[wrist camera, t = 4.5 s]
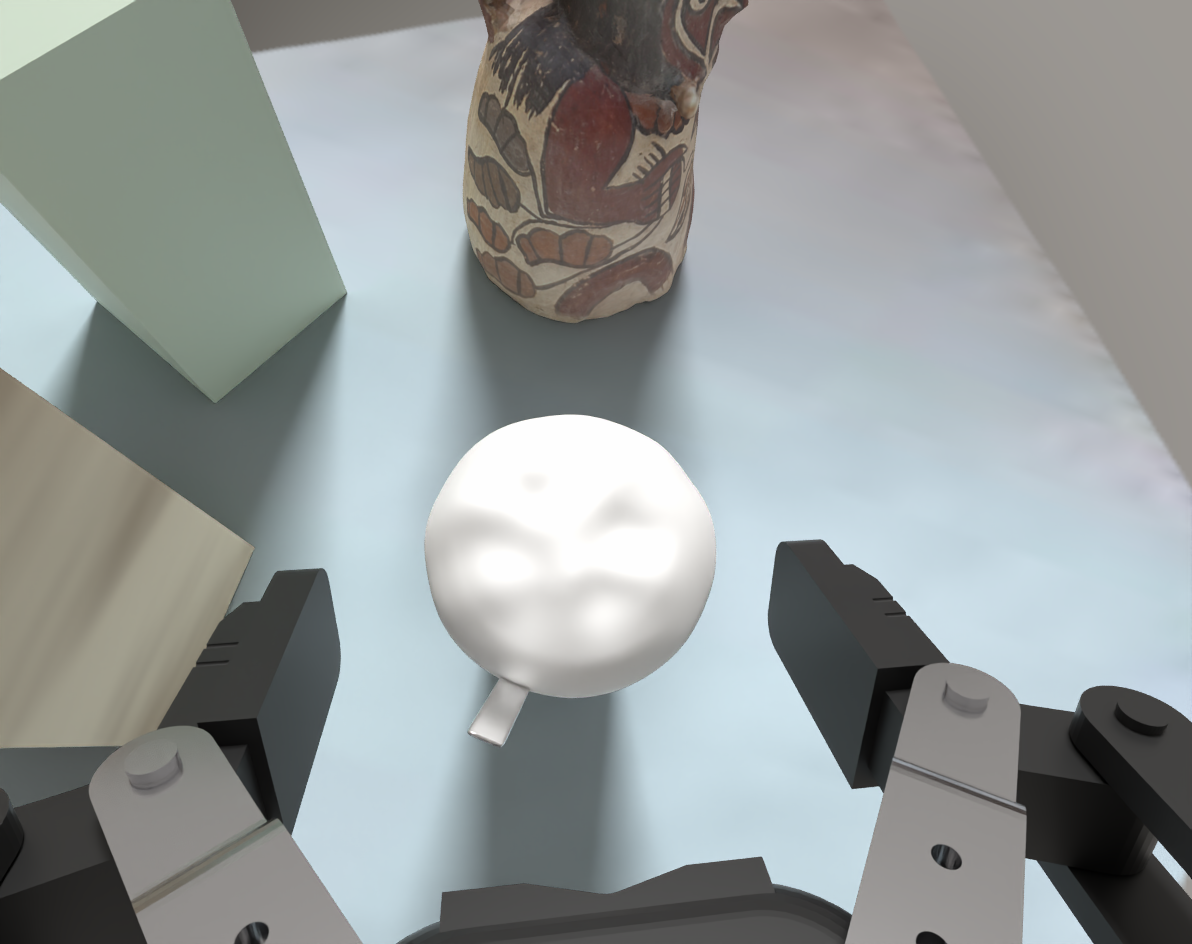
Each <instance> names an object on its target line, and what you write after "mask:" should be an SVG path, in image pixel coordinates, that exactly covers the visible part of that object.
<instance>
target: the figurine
mask: <svg viewBox="0 0 1192 944" xmlns="http://www.w3.org/2000/svg"><path fill="white" fill-rule="evenodd" d="M478 1H479V4H480V7H481V10H482V12H483V16H484V19H485V23H486V27H487V31H488V41H487V43H486V47H485V50H484V53H483V56H482V60H481V63H480V66H479V70H478V74H477V78H476V82H475V86H474V91H473V96H472V101H471V106H470V111H469V116H468V123H467V135H466V151H465V165H464V178H463V207H464V215H465V219H466V223H467V228H468V232H469V237H470V241H471V244H472V248H473V251H474V253H475V254H476V256H477V258H478V260H479V261H480V263H481V265H482V267H483V269H484V271H485V273H486V275H487V276H488V278H489V280H491V281H492V282H493V283H494V284H495V285H497V286H498V287H499V288H500V289H501V290H503V291H504V292H505V293H506V294H507V295H508V296H510V297H511V298H512V299H514V300H515V301H516V302H518V303H519V304H520V305H522V306H523V307H524V308H526V309H527V310H529V311H531V312H533V313H535V314H537V315H540V316H543V317H546V318H549V319H552V320H557V321H561V322H567V323H578V322H581V321H583V320H587V319H595V318H603V317H609V316H611V315H614V314H616V313H618V312H621V311H624V310H627V309H629V308H630V307H632V306H633V305H634V304H637V303H642V302H645V301H652V300H655V299H657V298H659V297H661V296H662V295H664V294H665V293H667V292H668V291H669V289H670V287H671V285H672V281H673V277H674V275H675V272H676V270H677V268H678V266H679V265H680V263H681V262H682V261H683V258H684V255H685V252H686V249H687V238H688V233H689V229H690V225H691V220H692V213H693V204H694V176H693V160H694V152H695V143H696V135H697V126H698V112H699V103H700V97H701V92H702V89H703V85H704V83H705V81H706V79H707V77H708V76H709V74H710V72H711V70H712V68H713V66H714V64H715V62H716V59H717V55H718V52H719V40H720V37H721V34H722V31H723V28H724V26H725V25H726V24H727V23H728V22H729V21H730V19H731V18H732V17H733V16H735V15H736V14H737V13H738V12H740V11H741V10H743V9H744V8H745V7H746V6H747V5H748V0H478Z"/></svg>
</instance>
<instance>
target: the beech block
mask: <svg viewBox="0 0 1192 944" xmlns="http://www.w3.org/2000/svg"><path fill="white" fill-rule="evenodd" d="M254 548H255V547H253V546H252V545H251V544H249V543H248V542H246V541H245V540H243V539H242V538H241V537H239V536H238V535H236V534H235V533H234V532H232V531H231V530H229V529H228V528H226V527H225V526H224V525H222V524H221V523H219V522H218V521H217V520H215V519H214V518H212V517H211V516H209V515H208V514H207V513H205V512H204V511H202V510H201V509H199V508H198V507H197V506H195V505H194V504H192V503H191V502H190V501H188V500H187V499H185V498H184V497H182V496H181V495H180V494H178V493H177V492H175V491H174V490H173V489H171V488H170V487H168V486H167V485H165V484H164V483H163V482H161V481H160V480H158V479H157V478H156V477H154V476H153V475H151V474H150V473H148V472H147V471H146V470H144V469H143V468H141V467H140V466H139V465H137V464H136V463H134V462H133V461H131V460H130V459H129V458H127V457H126V456H124V455H123V454H122V453H120V452H119V451H117V450H116V449H114V448H113V447H112V446H110V445H109V444H107V443H106V442H105V441H103V440H102V439H100V438H99V437H97V436H96V435H95V434H93V433H92V432H90V431H89V430H88V429H86V428H85V427H83V426H82V425H80V424H79V423H78V422H76V421H75V420H73V419H72V418H71V417H69V416H68V415H66V414H65V413H63V412H62V411H61V410H59V409H58V408H56V407H55V406H54V405H52V404H51V403H49V402H48V401H46V400H45V399H44V398H42V397H41V396H39V395H38V394H37V393H35V392H34V391H32V390H31V389H29V388H28V387H27V386H25V385H24V384H22V383H21V382H19V381H18V380H17V379H15V378H14V377H12V376H11V375H10V374H8V373H7V372H5V371H4V370H2V369H1V368H0V748H38V747H92V746H123V745H125V744H126V743H128V742H129V741H131V740H133V739H135V738H137V737H139V736H142V735H144V734H146V733H149V732H152V731H155V730H157V728H158V726H159V725H160V723H161V721H162V720H163V718H164V716H165V714H166V713H167V711H168V709H169V708H170V706H171V704H172V702H173V701H174V699H175V697H176V696H177V694H178V692H179V690H180V689H181V687H182V685H183V684H184V682H185V680H186V678H187V677H188V675H189V673H190V672H191V670H192V668H193V667H196V661H197V660H198V658H199V656H200V654H201V653H202V651H203V649H206V647H207V645H206V644H207V642H208V641H209V639H210V637H211V636H212V634H213V632H214V630H215V629H216V627H217V625H218V624H219V622H220V621H221V620H223V619H224V616H225V614H226V612H227V609H228V607H229V605H230V603H231V600H232V598H233V596H234V594H235V591H236V589H237V587H238V585H239V582H240V580H241V578H242V575H243V573H244V571H245V569H246V566H247V564H248V562H249V560H250V557H251V555H252V553H253V551H254Z"/></svg>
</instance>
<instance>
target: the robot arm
mask: <svg viewBox="0 0 1192 944" xmlns="http://www.w3.org/2000/svg"><path fill="white" fill-rule="evenodd" d="M768 626H769V633H770V637H771V640H772V643H773V646H774V648H775V650H776V652H777V653H778V655H779V657H780V659H781V661H782V662H783V664H784V666H785V668H786V670H787V672H788V673H789V675H790V677H791V679H792V681H793V683H794V684H795V686H796V688H797V690H798V692H799V693H800V695H801V697H802V699H803V701H804V703H805V704H806V706H807V708H808V710H809V712H810V714H811V715H812V717H813V719H814V721H815V723H816V724H817V726H818V728H819V730H820V732H821V734H822V735H823V737H824V739H825V741H826V743H827V745H828V746H829V748H830V750H831V752H832V754H833V755H834V757H835V759H836V761H837V763H838V765H839V766H840V768H841V770H842V772H843V774H844V776H845V777H846V779H847V781H848V783H849V785H850V787H851V788H852V789H857V788H866V787H876V786H879V787H880V788H881V790H882V792H883V793H884V794H883V798H882V802H881V806H880V810H879V814H878V818H877V822H876V825H875V829H874V833H873V837H872V841H871V845H870V849H869V853H868V856H867V860H866V864H865V868H864V872H863V876H862V880H861V883H860V887H859V891H858V895H857V899H856V903H855V907H854V911H853V914H852V915H851V914H850V913H848V912H847V911H845V910H843V909H842V908H840V907H839V906H836V905H834V904H832V903H830V902H828V901H826V900H824V899H822V898H820V897H818V896H815V895H813V894H810V893H807V892H805V891H802V890H799V889H795V888H791V887H787V886H783V885H778V884H772V882H771V880H770V877H769V874H768V872H767V869H766V866H765V863H764V861H763V858H762V857H754V858H745V859H737V860H728V861H719V862H710V863H701V864H692V865H686V866H683V867H680V868H678V869H675V870H673V871H670V872H667V873H665V874H662V875H660V876H657V877H655V878H652V879H649V880H647V881H644V882H642V883H639V884H637V885H634V886H631V887H629V888H626V889H624V890H621V891H618V892H615V893H611V894H598V893H591V892H583V891H576V890H569V889H561V888H554V887H547V886H539V885H532V884H524V883H523V884H514V885H505V886H496V887H488V888H479V889H470V890H461V891H452V892H443V893H442V902H441V915H440V922H437V923H434V924H432V925H429V926H427V927H425V928H423V929H421V930H419V931H417V932H415V933H413V934H411V935H409V936H407V937H405V938H404V939H402V940H401V941H399V942H398V943H396V944H1022V932H1023V905H1024V877H1025V858H1028V859H1033V860H1037V862H1038V863H1039V865H1040V866H1041V867H1042V869H1043V870H1044V872H1045V873H1046V875H1047V876H1048V878H1049V879H1050V881H1051V882H1052V884H1053V885H1054V886H1055V888H1056V889H1057V891H1058V892H1059V894H1060V895H1061V897H1062V898H1063V900H1064V901H1065V903H1066V904H1067V905H1068V907H1069V908H1070V910H1071V911H1072V913H1073V914H1074V916H1075V917H1076V919H1077V920H1078V922H1079V923H1080V924H1081V926H1082V927H1083V929H1084V930H1085V932H1086V933H1087V935H1088V936H1089V938H1090V939H1091V941H1092V942H1093V943H1094V944H1192V899H1191V898H1190V897H1189V896H1188V895H1187V893H1186V892H1185V891H1184V890H1183V889H1182V888H1181V886H1180V885H1179V884H1178V883H1177V882H1176V880H1175V879H1174V878H1173V877H1172V876H1171V875H1170V873H1169V872H1168V871H1167V870H1166V869H1165V868H1164V866H1163V865H1162V864H1161V863H1160V862H1159V861H1158V859H1157V858H1156V857H1155V856H1154V855H1153V854H1152V852H1153V850H1154V848H1155V846H1156V844H1157V841H1159V842H1160V843H1161V844H1162V845H1163V846H1164V848H1165V849H1166V850H1167V851H1168V852H1169V853H1170V854H1171V856H1172V857H1173V858H1174V859H1175V860H1176V861H1177V862H1178V864H1179V865H1180V866H1181V867H1182V868H1183V869H1184V870H1185V871H1186V873H1187V874H1188V875H1189V876H1190V878H1191V879H1192V722H1191V721H1189V720H1188V719H1187V718H1186V717H1185V716H1184V715H1182V714H1181V713H1180V712H1178V711H1177V710H1175V709H1174V708H1172V707H1171V706H1169V705H1168V704H1166V703H1164V702H1162V701H1160V700H1158V699H1156V698H1154V697H1152V696H1149V695H1147V694H1144V693H1142V692H1138V691H1135V690H1132V689H1128V688H1123V687H1117V686H1096V687H1092V688H1089V689H1088V690H1086V691H1084V693H1083V694H1082V695H1081V698H1080V700H1079V703H1078V706H1077V708H1076V711H1075V712H1070V711H1063V710H1056V709H1049V708H1043V707H1036V706H1029V705H1024V704H1019V702H1018V700H1017V699H1016V697H1015V696H1014V694H1013V693H1012V692H1011V691H1010V690H1009V689H1008V688H1007V687H1006V686H1005V685H1004V684H1003V683H1001V682H1000V681H998V680H997V679H995V678H994V677H992V676H990V675H988V674H986V673H984V672H982V671H980V670H977V669H974V668H972V667H968V666H964V665H960V664H954V663H950V662H949V661H948V660H947V659H946V658H945V657H944V655H943V654H942V653H941V652H940V651H939V650H938V648H937V647H936V646H935V645H934V644H933V643H932V642H931V640H930V639H929V638H928V637H927V636H926V635H925V634H924V632H923V631H922V630H921V629H920V628H919V627H918V626H917V624H916V623H915V622H914V621H913V620H912V619H911V617H910V616H906V612H905V611H904V609H903V608H902V607H901V606H900V605H899V604H898V603H897V601H893V597H892V596H891V595H890V593H889V592H888V591H887V590H886V589H885V588H884V586H883V585H882V584H881V583H880V582H879V581H878V580H877V579H876V578H874V577H873V576H871V575H869V574H868V573H866V572H865V571H863V570H861V569H860V568H858V567H856V566H855V565H853V564H849V565H844V564H843V563H842V562H841V561H840V559H839V558H838V557H837V556H836V554H835V553H834V552H833V551H832V550H831V548H830V547H829V546H828V545H827V543H826V542H825V541H823V540H820V539H819V540H803V541H786V542H781V543H780V544H779V545H778V547H777V550H776V555H775V562H774V570H773V578H772V586H771V593H770V601H769V609H768ZM206 645H207V647H206V649H203V651H202V653H201V654H200V656H199V658H198V660H197V661H196V667H193V668H192V670H191V672H190V673H189V675H188V677H187V678H186V680H185V682H184V684H183V685H182V687H181V689H180V690H179V692H178V694H177V696H176V697H175V699H174V701H173V702H172V704H171V706H170V708H169V709H168V711H167V713H166V714H165V716H164V718H163V720H162V721H161V723H160V725H159V726H158V728H157V730H155V731H152V732H149V733H146V734H144V735H142V736H139V737H137V738H135V739H133V740H131V741H129V742H128V743H126V744H125V745H123V746H121V747H120V748H118V749H117V750H116V751H115V752H113V753H112V754H111V755H110V756H109V757H108V758H107V759H106V760H105V761H103V763H102V764H101V765H100V766H99V767H98V769H97V770H96V772H95V773H94V775H93V777H92V779H91V782H90V784H89V785H86V786H83V787H81V788H78V789H75V790H72V791H68V792H65V793H62V794H59V795H56V796H52V797H49V798H46V799H43V800H40V801H36V802H33V803H30V804H27V805H23V806H20V807H17V808H13V806H12V804H11V801H10V799H9V797H8V795H7V794H6V792H5V791H4V790H3V789H1V788H0V944H363V943H362V942H361V940H360V939H359V937H358V936H357V934H356V933H355V931H354V930H353V928H352V927H351V925H350V924H349V922H348V921H347V919H346V918H345V916H344V915H343V913H342V912H341V910H340V909H339V907H338V906H337V904H336V903H335V901H334V900H333V898H332V897H331V895H330V894H329V892H328V891H327V889H326V888H325V886H324V885H323V883H322V882H321V880H320V879H319V877H318V876H317V874H316V873H315V871H314V870H313V868H312V867H311V865H310V864H309V862H308V861H307V859H306V858H305V856H304V855H303V853H302V852H301V850H300V849H299V847H298V846H297V844H296V843H295V841H294V840H293V838H292V837H291V835H292V832H293V828H294V825H295V822H296V818H297V815H298V812H299V808H300V805H301V802H302V798H303V795H304V792H305V788H306V785H307V782H308V778H309V775H310V772H311V768H312V765H313V762H314V758H315V755H316V752H317V748H318V745H319V742H320V738H321V735H322V732H323V728H324V725H325V722H326V718H327V715H328V712H329V708H330V705H331V702H332V698H333V695H334V692H335V688H336V685H337V682H338V678H339V672H340V661H341V652H340V641H339V635H338V629H337V624H336V618H335V613H334V607H333V602H332V596H331V590H330V585H329V580H328V576H327V573H326V571H325V570H324V569H323V568H319V569H302V570H286V571H277V572H276V573H275V574H274V576H273V578H272V579H271V581H270V583H269V585H268V587H267V589H266V591H265V593H264V595H263V597H262V599H261V601H259V602H243V603H242V604H241V605H240V606H239V607H237V608H236V609H235V610H234V611H232V612H231V613H230V614H229V615H228V616H226V617H225V618H224V619H223V620H221V621H220V622H219V624H218V625H217V627H216V629H215V630H214V632H213V634H212V636H211V637H210V639H209V641H208V642H207V644H206Z"/></svg>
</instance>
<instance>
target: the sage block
mask: <svg viewBox="0 0 1192 944" xmlns="http://www.w3.org/2000/svg"><path fill="white" fill-rule="evenodd" d="M0 203H1V204H2V205H3V206H4V207H5V208H6V209H7V210H8V211H9V212H10V213H11V214H12V215H13V216H14V217H15V218H16V219H17V220H18V221H19V222H20V223H21V224H22V225H23V226H24V227H25V228H26V229H27V230H28V231H29V232H30V233H31V234H32V235H33V236H34V237H35V238H36V239H37V240H38V241H39V242H40V243H41V244H42V245H43V246H44V248H45V249H46V250H47V251H48V252H49V253H50V254H51V255H52V256H53V257H54V258H55V259H56V260H57V261H58V262H59V263H60V264H61V265H62V266H63V267H64V268H65V269H66V270H67V271H68V272H69V273H70V274H71V275H72V276H73V277H74V278H75V279H76V280H77V281H78V282H79V283H80V284H81V285H82V286H83V287H84V288H85V289H86V290H87V291H88V293H89V294H90V295H91V296H92V297H93V298H94V299H95V300H96V301H97V302H99V303H100V304H101V305H102V306H103V307H104V308H105V309H107V310H108V311H109V312H110V313H111V314H112V315H114V316H115V317H116V318H117V319H118V320H119V321H120V322H122V323H123V324H124V325H125V326H126V327H127V328H128V329H130V330H131V331H132V332H133V333H134V334H135V335H137V336H138V337H139V338H140V339H141V340H142V341H143V342H145V343H146V344H147V345H148V346H149V347H150V348H152V349H153V350H154V351H155V352H156V353H157V354H158V355H160V356H161V357H162V358H163V359H164V360H165V361H166V362H168V363H169V364H170V365H171V366H172V367H173V368H175V369H176V370H177V371H178V372H179V373H180V374H181V375H183V376H184V377H185V378H186V379H187V380H188V381H190V382H191V383H192V384H193V385H194V386H195V387H196V388H198V389H199V390H200V391H201V392H202V393H203V394H204V395H206V396H207V397H208V398H209V399H210V400H211V401H213V402H214V403H215V404H216V403H217V402H218V401H219V400H220V399H222V398H223V397H224V396H225V395H226V394H228V393H229V392H230V391H231V390H232V389H233V388H235V387H236V386H237V385H238V384H239V383H241V382H242V381H243V380H244V379H245V378H247V377H248V376H249V375H250V374H251V373H252V372H254V371H255V370H256V369H257V368H258V367H260V366H261V365H262V364H263V363H264V362H266V361H267V360H268V359H269V358H270V357H271V356H273V355H274V354H275V353H276V352H277V351H279V350H280V349H281V348H282V347H283V346H285V345H286V344H287V343H288V342H289V341H290V340H292V339H293V338H294V337H295V336H296V335H298V334H299V333H300V332H301V331H302V330H304V329H305V328H306V327H307V326H308V325H309V324H311V323H312V322H313V321H314V320H315V319H317V318H318V317H319V316H320V315H321V314H323V313H324V312H325V311H326V310H327V309H328V308H330V307H331V306H332V305H333V304H334V303H336V302H337V301H338V300H339V299H340V298H342V297H343V296H344V295H345V294H346V293H347V291H346V289H345V286H344V284H343V281H342V279H341V276H340V274H339V271H338V269H337V266H336V264H335V261H334V259H333V256H332V254H331V251H330V249H329V246H328V244H327V241H326V239H325V236H324V233H323V231H322V228H321V226H320V223H319V221H318V218H317V216H316V213H315V211H314V208H313V206H312V203H311V201H310V198H309V196H308V193H307V191H306V188H305V186H304V183H303V181H302V178H301V176H300V173H299V171H298V168H297V166H296V163H295V161H294V158H293V156H292V153H291V151H290V148H289V146H288V143H287V141H286V138H285V136H284V133H283V131H282V128H281V126H280V123H279V121H278V118H277V116H276V113H275V111H274V108H273V106H272V103H271V101H270V98H269V96H268V93H267V91H266V88H265V86H264V83H263V81H262V78H261V76H260V73H259V71H258V68H257V66H256V63H255V61H254V58H253V56H252V53H251V50H250V48H249V46H248V43H247V40H246V38H245V36H244V33H243V30H242V28H241V25H240V23H239V20H238V18H237V15H236V13H235V11H234V8H233V5H232V3H231V0H0Z"/></svg>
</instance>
